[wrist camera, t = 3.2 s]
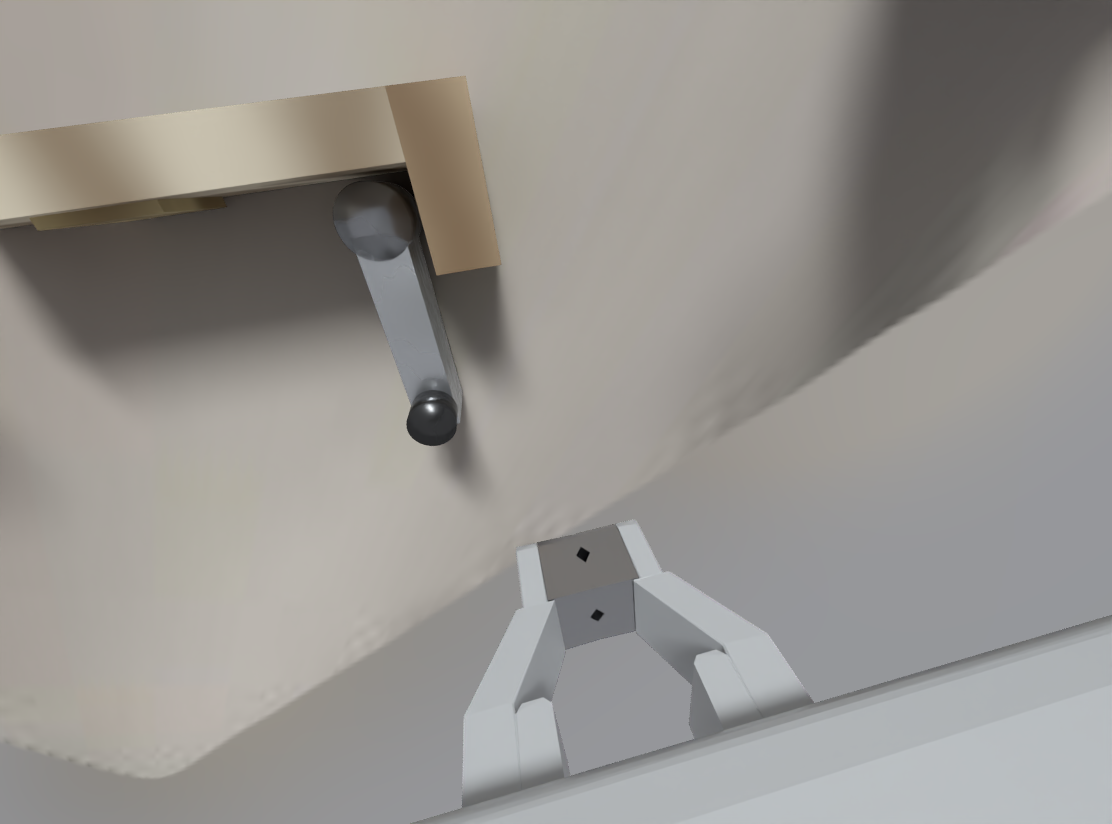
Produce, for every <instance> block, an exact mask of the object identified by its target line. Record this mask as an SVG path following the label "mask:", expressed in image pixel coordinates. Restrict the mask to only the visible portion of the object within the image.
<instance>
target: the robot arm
mask: <svg viewBox="0 0 1112 824" xmlns="http://www.w3.org/2000/svg"><path fill="white" fill-rule="evenodd" d="M537 545H538V546H537ZM516 557H517V566H518V574H519V582H520V589H521V598H522V607H523V608H520V609H517V610H516V612H515V614H514V616H513V618H512V620H511V622H510V624H509V626H508V628H507V630H506V632H505V634H504V636H503V638H502V640H501V642H500V644H499V646H498V649H497V650H496V652H495V654H494V656H493V658H492V660H491V662H490V665H489V667H488V669H487V671H486V673H485V675H484V677H483V679H482V681H481V683H480V685H479V687H478V689H477V691H476V693H475V695H474V697H473V699H472V701H471V703H470V705H469V707H468V709H467V711H466V713H465V715H464V735H463V736H464V737H463V784H462V786H463V787H462V808H461V809H458V810H454V811H451V812H447V813H444V814H441V815H437V816H434V817H431V818H427V819H424V820H420V821H417V822H414V823H410V824H1112V615H1110V616H1106V617H1103V618H1100V619H1096V620H1093V621H1089V622H1086V623H1083V624H1079V625H1076V626H1073V627H1069V628H1066V629H1062V630H1059V631H1056V632H1052V633H1049V634H1046V635H1042V636H1039V637H1036V638H1032V639H1029V640H1026V641H1022V642H1019V643H1015V644H1012V645H1009V646H1005V647H1002V648H999V649H995V650H992V651H988V652H985V653H982V654H978V655H975V656H972V657H968V658H965V659H962V660H958V661H955V662H951V663H948V664H945V665H941V666H938V667H935V668H931V669H928V670H925V671H921V672H918V673H914V674H911V675H908V676H904V677H901V678H898V679H894V680H891V681H888V682H884V683H881V684H877V685H874V686H871V687H867V688H864V689H861V690H857V691H854V692H851V693H847V694H844V695H841V696H837V697H834V698H830V699H827V700H824V701H820V702H817V703H814V702H813V700H812V699H811V697H810V696H809V694H808V693H807V691H806V690H805V689H804V687H803V686H802V684H801V683H800V681H799V680H798V678H797V677H796V675H795V674H794V672H793V671H792V669H791V668H790V666H789V665H788V663H787V662H786V660H785V659H784V657H783V656H782V654H781V653H780V651H779V650H778V648H777V647H776V645H775V644H774V643H773V641H772V639H771V638H770V636H769V635H768V634H767V633H766V632H764V631H763V630H761V629H759V628H758V627H756V626H755V625H753V624H752V623H750V622H748V621H747V620H745V619H744V618H742V617H741V616H739V615H737V614H736V613H734V612H733V611H731V610H730V609H728V608H726V607H725V606H723V605H722V604H720V603H718V602H717V601H716V600H714V599H712V598H711V597H709V596H708V595H706V594H705V593H703V592H701V591H700V590H698V589H697V588H695V587H694V586H692V585H690V584H689V583H687V582H686V581H684V580H683V579H681V578H679V577H678V576H676V575H675V574H673V573H672V572H670V571H667V572H663V571H662V569H661V567H660V565H659V563H658V561H657V559H656V557H655V556H654V554H653V552H652V550H651V548H650V546H649V544H648V542H647V540H646V538H645V536H644V534H643V532H642V530H641V528H640V526H639V524H638V522H637V521H636V520H634V519H633V520H629V521H625V522H621V523H617V524H615V525H614V524H612V525H608V526H604V527H600V528H596V529H592V530H588V531H584V532H580V533H576V534H574V535H569V536H565V537H560V538H555V539H550V540H546V541H541V542H537V543H533V544H528V545H524V546H519V547H516ZM633 631H636V633H637V634H638V635H639V636H640V637H641V638H642V639H643V640H644V641H645V642H646V643H647V644H648V645H650V646H651V647H652V648H653V649H654V650H655V651H656V652H657V653H658V654H659V655H660V656H661V657H662V658H663V659H664V660H666V661H667V662H668V663H669V664H670V665H671V666H672V667H673V668H674V669H675V670H676V671H677V672H678V673H679V674H680V675H681V676H682V677H684V678H685V679H686V680H687V681H688V682H689V683H690V684H691V685H692V694H691V705H690V717H689V726H690V728H691V731H692V733H693V736H694V738H695V739H693V740H689V741H686V742H682V743H679V744H676V745H673V746H669V747H666V748H662V749H659V750H656V751H652V752H649V753H645V754H643V755H639V756H635V757H632V758H629V759H625V760H622V761H619V762H615V763H612V764H608V765H605V766H602V767H599V768H595V769H592V770H588V771H585V772H582V773H578V774H575V775H571V776H570V772H569V766H568V761H567V757H566V753H565V749H564V746H563V742H562V738H561V735H560V731H559V727H558V723H557V720H556V716H555V712H554V709H553V705H552V703H551V701H552V697H553V694H554V691H555V687H556V683H557V680H558V677H559V674H560V670H561V667H562V663H563V660H564V657H565V653H566V651H565V650H566V649H569V648H573V647H576V646H579V645H583V644H586V643H589V642H593V641H596V640H599V639H603V638H608V637H612V636H616V635H620V634H624V633H629V632H633Z"/></svg>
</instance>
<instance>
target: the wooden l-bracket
mask: <svg viewBox="0 0 1112 824" xmlns="http://www.w3.org/2000/svg"><path fill="white" fill-rule="evenodd" d="M407 170H408V173H409V177H410V180H411V184H412V188H413V191H414V195H415V199H416V202H417V206H418V210H419V213H420V217H421V221H422V224H423V228H424V232H425V235H426V239H427V243H428V246H429V250H430V254H431V257H432V261H433V265H434V268H435V272H436V276H437V275H443V274H449V273H455V272H461V271H467V270H473V269H479V268H485V267H491V266H497V265H501V260H500V255H499V250H498V245H497V239H496V234H495V229H494V223H493V218H492V213H491V208H490V202H489V197H488V192H487V187H486V181H485V176H484V171H483V165H482V160H481V155H480V150H479V144H478V139H477V134H476V128H475V123H474V118H473V113H472V107H471V102H470V97H469V92H468V86H467V81H466V76H460V77H452V78H444V79H437V80H429V81H421V82H413V83H405V84H397V85H389V86H381V87H373V88H366V89H358V90H350V91H342V92H334V93H326V94H318V95H310V96H303V97H295V98H287V99H279V100H271V101H263V102H255V103H247V104H239V105H232V106H224V107H216V108H208V109H200V110H192V111H184V112H176V113H169V114H161V115H153V116H145V117H137V118H129V119H121V120H113V121H106V122H98V123H90V124H82V125H74V126H66V127H58V128H50V129H42V130H35V131H27V132H19V133H11V134H3V135H0V229H5V228H12V227H19V226H26V225H34V226H35V227H36V229H37V230H38V231H43V230H52V229H62V228H71V227H81V226H90V225H100V224H110V223H119V222H128V221H135V220H142V219H149V218H156V217H163V216H169V215H176V214H183V213H190V212H197V211H204V210H210V209H217V208H224V207H227V206H226V204H225V202H224V200H223V198H222V197H227V196H234V195H241V194H248V193H254V192H261V191H268V190H275V189H282V188H289V187H296V186H303V185H310V184H317V183H324V182H331V181H338V180H345V179H351V178H358V177H365V176H372V175H379V174H386V173H393V172H400V171H407Z"/></svg>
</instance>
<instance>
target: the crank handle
mask: <svg viewBox="0 0 1112 824" xmlns="http://www.w3.org/2000/svg"><path fill="white" fill-rule="evenodd" d="M333 220H334V224H335V228H336V230H337V233H338V235H339V236H340V238H341V240H342V241H343V242H344V244H345V245H346V246H347V247H348V248H349V249H350V250H351V251H353V252H354V253H355V254H356V255H357V257H358V260H359V263H360V266H361V268H362V271H363V274H364V277H365V279H366V282H367V285H368V288H369V290H370V293H371V296H372V299H373V301H374V304H375V307H376V310H377V312H378V315H379V318H380V321H381V323H382V326H383V329H384V332H385V334H386V337H387V340H388V343H389V346H390V348H391V351H392V354H393V357H394V359H395V362H396V365H397V368H398V370H399V373H400V376H401V379H402V381H403V384H404V387H405V390H406V392H407V395H408V398H409V401H410V403H411V409H410V412H409V415H408V418H407V430H408V432H409V434H410V436H411V437H412V438H413V439H414V440H416V441H417V442H419V443H421V444H424V445H428V446H437V445H441V444H444V443H446V442H448V441H449V440H450V439H451V438H452V437H453V436H454V434H455V432H456V426H457V424H458V423H460V419H461V406H462V393H463V392H462V389H461V385H460V382H459V378H458V374H457V371H456V367H455V364H454V360H453V357H452V353H451V350H450V346H449V342H448V339H447V335H446V332H445V328H444V325H443V321H442V317H441V314H440V310H439V307H438V303H437V300H436V296H435V293H434V289H433V285H432V282H431V278H430V275H429V271H428V268H427V264H426V261H425V257H424V253H423V250H422V246H421V243H420V239H419V235H420V232H421V229H422V221H421V217H420V213H419V210H418V206H417V202H416V200H415V199H414V197H413V196H412V195H411V194H410V193H409V192H408V191H407V190H406V189H404V188H403V187H401V186H399V185H397V184H394V183H390V182H377V181H359V182H355V183H352V184H350V185H348V186H346V187H345V188H344V189H343V190H342V191H341V192H340V193H339V194H338V196H337V198H336V200H335V203H334V207H333Z"/></svg>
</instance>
